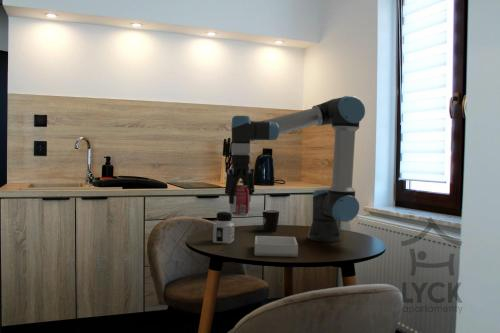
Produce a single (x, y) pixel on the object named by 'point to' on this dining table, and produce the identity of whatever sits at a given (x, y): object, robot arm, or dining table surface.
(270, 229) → the coffee mug
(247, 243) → the dining table surface
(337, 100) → the robot arm
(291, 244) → the bin
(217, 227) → the container
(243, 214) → the soda can
